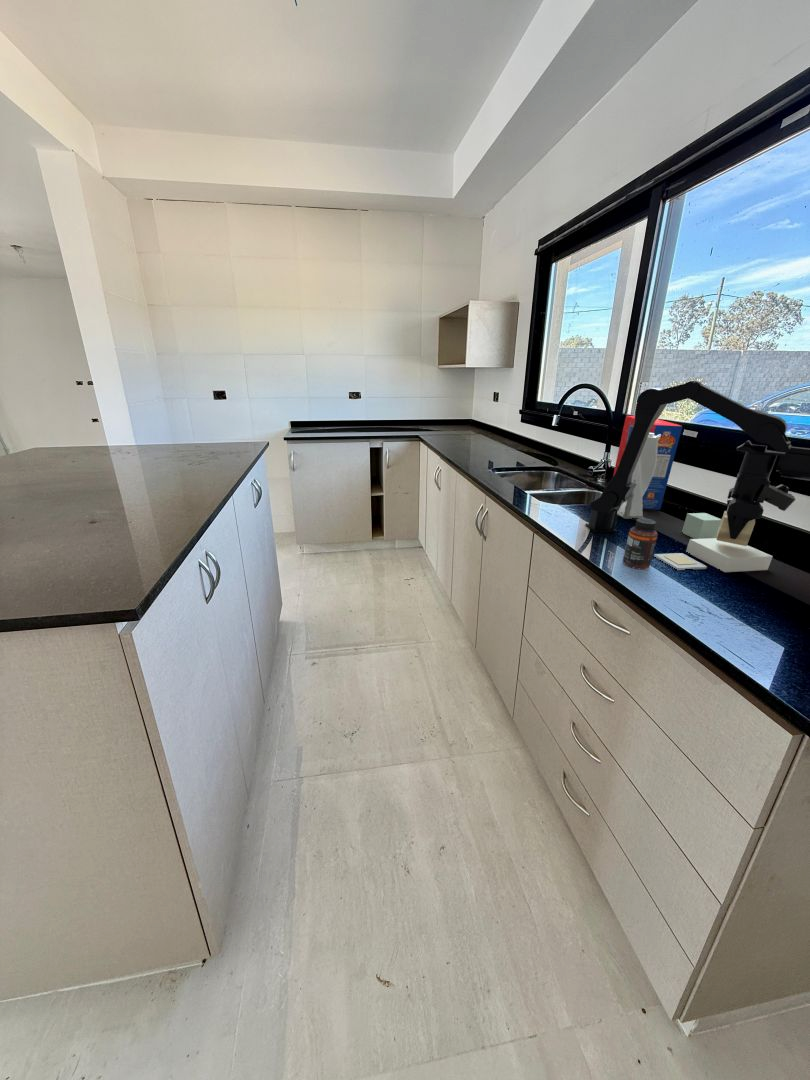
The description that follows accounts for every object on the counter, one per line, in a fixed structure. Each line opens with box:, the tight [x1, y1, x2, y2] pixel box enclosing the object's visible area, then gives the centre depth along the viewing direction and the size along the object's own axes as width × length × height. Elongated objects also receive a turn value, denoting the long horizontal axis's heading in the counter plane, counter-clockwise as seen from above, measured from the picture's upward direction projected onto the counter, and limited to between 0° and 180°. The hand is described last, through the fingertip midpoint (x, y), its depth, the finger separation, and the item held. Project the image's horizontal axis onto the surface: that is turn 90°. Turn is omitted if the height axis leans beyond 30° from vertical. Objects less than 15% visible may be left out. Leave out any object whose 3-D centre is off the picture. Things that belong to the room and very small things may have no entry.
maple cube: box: [717, 510, 756, 546], centre depth 105 cm, size 6×6×6 cm
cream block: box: [685, 538, 774, 573], centre depth 107 cm, size 12×12×4 cm
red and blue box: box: [612, 415, 683, 511], centre depth 154 cm, size 28×8×28 cm, turn 172°
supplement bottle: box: [622, 517, 658, 570], centre depth 102 cm, size 6×6×11 cm
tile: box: [653, 552, 708, 571], centre depth 106 cm, size 8×8×1 cm
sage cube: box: [681, 512, 722, 539], centre depth 122 cm, size 6×6×6 cm
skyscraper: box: [617, 433, 661, 520], centre depth 135 cm, size 8×8×28 cm
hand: (732, 535), depth 105 cm, fingers closed on maple cube, 6 cm apart
